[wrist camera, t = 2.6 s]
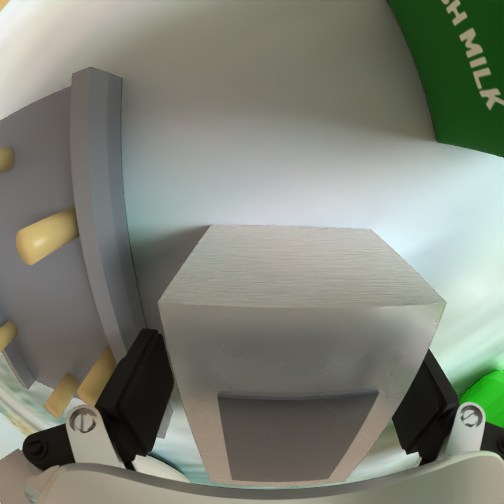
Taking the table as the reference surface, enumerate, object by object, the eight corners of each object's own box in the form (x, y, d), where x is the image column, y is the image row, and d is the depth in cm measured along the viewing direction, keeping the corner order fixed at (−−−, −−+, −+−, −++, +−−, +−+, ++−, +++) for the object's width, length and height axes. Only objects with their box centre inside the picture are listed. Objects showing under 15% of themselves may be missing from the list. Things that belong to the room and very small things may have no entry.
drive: (330, 399, 13) (344, 482, 8) (225, 398, 14) (210, 483, 9) (369, 228, 10) (448, 304, 5) (212, 223, 10) (155, 304, 5)
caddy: (172, 411, 14) (156, 462, 11) (35, 370, 15) (12, 400, 11) (121, 78, 8) (56, 56, 4) (-27, 144, 9) (-70, 154, 5)
